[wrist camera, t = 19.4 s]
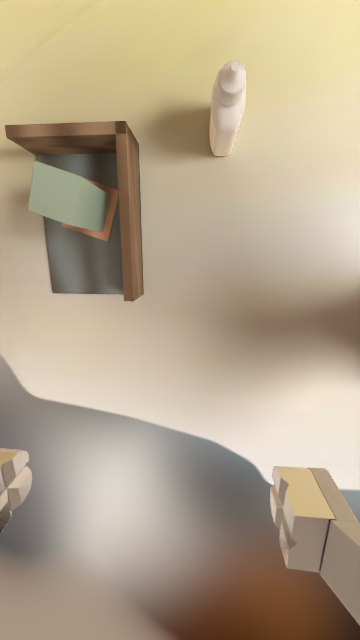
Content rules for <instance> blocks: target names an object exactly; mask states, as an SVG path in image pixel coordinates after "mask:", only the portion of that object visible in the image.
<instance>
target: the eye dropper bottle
mask: <svg viewBox="0 0 360 640" xmlns="http://www.w3.org/2000/svg"><path fill="white" fill-rule="evenodd" d="M246 74H247V73H246V70H245V67H244V66H243V65H242V64H241V63H240V62H238V61H231V62H229V63H226V64H225V65H224V67H222V68H221V69H220V71H219V73H218V75H217V78H216V80H215V84H214V87H213V93H212V102H211V115H210V130H209V139H210V146H211V150H212V152H213V154H214V155H215V156H228V155H229V154H230V153H231V151H232V149H233V146H234V143H235V140H236V137H237V134H238V130H239V127H240V124H241V120H242V117H243V113H244V109H245V103H246V78H247V77H246V76H247V75H246Z"/></svg>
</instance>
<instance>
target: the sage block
mask: <svg viewBox="0 0 360 640" xmlns="http://www.w3.org/2000/svg"><path fill="white" fill-rule="evenodd" d="M110 198H111V195H109V194H107V193H106V192H104V191H103V190H101V189H100V188H98V187H97V186H95V185H94V184H92V183H90V182H89V181H87V180H86V179H84V178H83V177H81V176H78V175H76V174H73V173H70V172H67V171H64V170H61V169H58V168H55V167H52V166H49V165H46V164H43V163H41V162H38V161H35V162H34V169H33V176H32V182H31V189H30V196H29V203H28V209H27V211H30V212H33V213H36V214H39V215H42V216H45V217H48V218H51V219H53V220H56V221H59V222H62V223H65V224H68V225H71V226H75V227H80V228H85V229H89V230H94V231H98V232H103V228H104V224H105V220H106V215H107V211H108V207H109V202H110Z"/></svg>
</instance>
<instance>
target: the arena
mask: <svg viewBox="0 0 360 640" xmlns="http://www.w3.org/2000/svg"><path fill="white" fill-rule="evenodd" d="M5 129H6V136H7V138H8V139H10V140H12V141H13V142H15V143H17V144H18V145H20V146H22V147H23V148H25V149H27V150H28V151H30V152H32V153H33V154H35V155H36V158H37V161H38V162H41V163H43V164H46V165H49V166H52V167H55V168H58V169H61V170H64V171H67V172H70V173H73V174H76V175H78V176H81V177H83V178H84V179H86V180H87V181H89V182H90V183H92V184H94V185H95V186H97V187H98V188H100V189H101V190H103V191H104V192H106V193H107V194H109V195H111V198H110V202H109V207H108V211H107V215H106V220H105V224H104V228H103V232H98V231H94V230H89V229H85V228H80V227H75V226H71V225H68V224H65V223H62V222H59V221H56V220H53V219H51V218H48V217H45V216H44V223H45V231H46V239H47V247H48V256H49V264H50V272H51V280H52V288H53V293H77V294H124V301H134V300H136V299H137V298H138V297H140V296H141V295H143V266H142V235H141V204H140V173H139V144H138V142H137V140H136V139H135V137H134V135H133V133H132V132H131V130H130V128H129V126H128V125H127V123H126V121H115V122H87V123H59V124H31V125H5Z"/></svg>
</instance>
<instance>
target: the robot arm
mask: <svg viewBox="0 0 360 640" xmlns="http://www.w3.org/2000/svg"><path fill="white" fill-rule="evenodd" d="M28 461H29V456H28V452H26V451H23V450H13V449H3V448H0V533H1V532H2V530H3V529H4V527H5V526H6V525H7V523H8V522H9V520H10V519H11V514H12V510H13V509H14V508H16V507H18V506H19V505H20V504H22V502H23V501H24V499H25V498H26V496H27V495H28V492H29V490H30V487H31V485H32V472H31V470H30V469H29V468H28V467H27V466H26V464H27V463H28ZM272 477H273V480H274V485H273V486H272V487H271V492H270V503H271V511H272V516H273V520H274V524H275V525H276V526H277V527H278V529H279V530H280V538H279V542H280V545H281V549H282V553H283V556H284V559H285V563H286V567H287V568H289V569H297V570H305V571H314V572H320V575H321V576H322V578H323V579H324V580H325V581H326V582H327V584H328V585H329V587H330V588H331V589H332V591H333V592H334V593H335V594H336V596H337V597H338V598H339V600H340V601H341V602H342V603H343V605H344V606H345V607H346V609H347V610H348V611H349V612H350V614H351V615H352V616H353V618H355V620H356V621H357V623H358V624H359V625H360V522H358V521H357V519H356V517H355V516H354V514H353V512H352V511H351V509H350V507H349V506H348V504H347V502H346V501H345V499H344V497H343V496H342V494H341V492H340V490H339V489H338V487H337V485H336V484H335V482H334V480H333V479H332V477H331V475H330V474H329V472H328V471H327V470H326V469H323V468H301V467H282V466H274V468H273V474H272Z"/></svg>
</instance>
